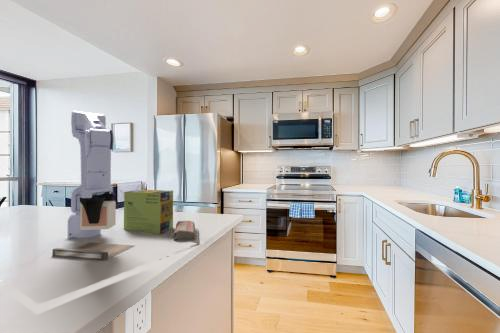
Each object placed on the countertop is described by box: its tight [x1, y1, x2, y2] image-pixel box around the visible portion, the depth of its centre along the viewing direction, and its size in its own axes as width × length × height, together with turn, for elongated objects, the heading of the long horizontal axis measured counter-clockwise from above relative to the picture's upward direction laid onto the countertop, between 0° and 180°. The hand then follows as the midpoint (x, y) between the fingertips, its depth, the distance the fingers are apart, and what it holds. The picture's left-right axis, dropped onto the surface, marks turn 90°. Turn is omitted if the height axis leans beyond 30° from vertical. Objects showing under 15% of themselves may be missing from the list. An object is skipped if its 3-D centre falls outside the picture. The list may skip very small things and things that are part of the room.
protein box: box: [123, 189, 174, 235], centre depth 98 cm, size 10×15×16 cm
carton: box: [80, 200, 117, 230], centre depth 69 cm, size 5×7×7 cm
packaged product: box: [168, 220, 199, 245], centre depth 88 cm, size 18×5×10 cm
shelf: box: [51, 241, 135, 261], centre depth 70 cm, size 16×12×3 cm
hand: (98, 220), depth 69 cm, fingers closed on carton, 5 cm apart
